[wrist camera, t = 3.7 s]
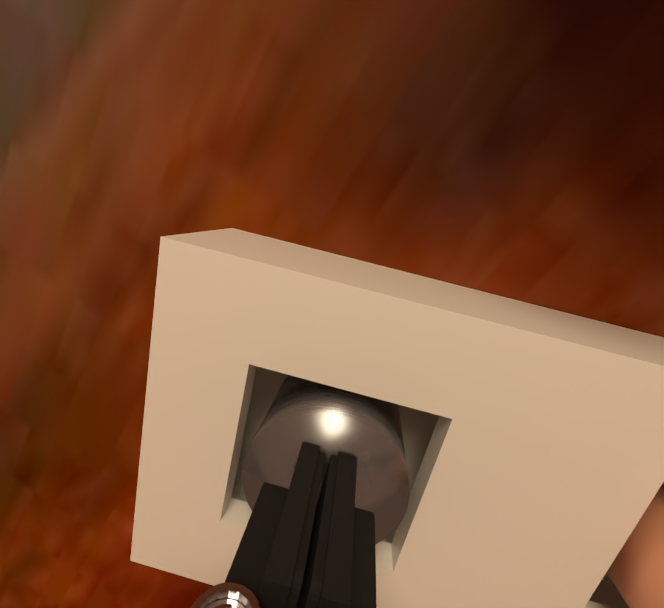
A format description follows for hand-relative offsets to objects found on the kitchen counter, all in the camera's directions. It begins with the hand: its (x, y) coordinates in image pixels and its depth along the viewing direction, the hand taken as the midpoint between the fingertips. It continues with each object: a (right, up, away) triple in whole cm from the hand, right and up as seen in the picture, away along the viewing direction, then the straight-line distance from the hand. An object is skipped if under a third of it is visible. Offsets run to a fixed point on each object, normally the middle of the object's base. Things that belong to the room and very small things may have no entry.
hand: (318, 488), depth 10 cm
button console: (+7, 0, +5) cm, 8 cm away
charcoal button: (+1, +1, +4) cm, 4 cm away
